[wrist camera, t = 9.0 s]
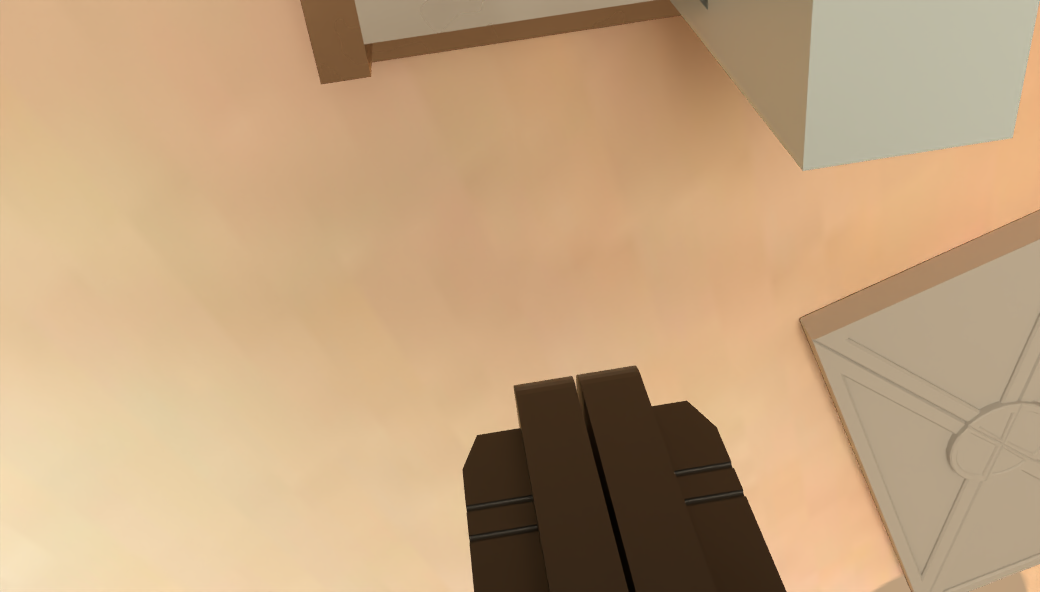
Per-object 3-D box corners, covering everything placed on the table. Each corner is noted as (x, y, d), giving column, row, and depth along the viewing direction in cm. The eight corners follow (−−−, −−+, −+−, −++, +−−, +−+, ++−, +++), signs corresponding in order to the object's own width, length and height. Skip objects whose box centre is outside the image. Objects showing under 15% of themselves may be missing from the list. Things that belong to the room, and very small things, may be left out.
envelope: (906, 583, 59) (1128, 495, 57) (923, 613, 57) (1152, 524, 55) (797, 315, 45) (1082, 186, 43) (814, 344, 44) (1112, 211, 41)
